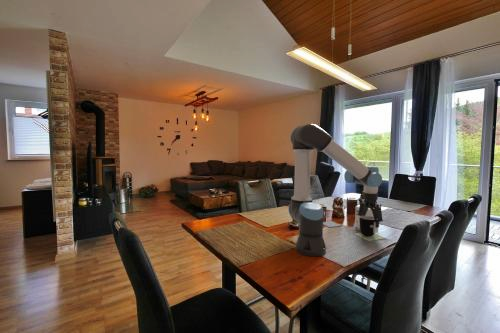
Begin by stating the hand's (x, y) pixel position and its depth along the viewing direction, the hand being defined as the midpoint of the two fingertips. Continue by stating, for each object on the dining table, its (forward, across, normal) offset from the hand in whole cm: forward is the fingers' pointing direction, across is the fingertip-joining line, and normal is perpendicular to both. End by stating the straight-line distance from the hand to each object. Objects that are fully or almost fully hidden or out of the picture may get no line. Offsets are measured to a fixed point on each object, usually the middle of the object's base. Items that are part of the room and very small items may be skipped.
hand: (369, 229), depth 140 cm
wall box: (+4, +13, -9) cm, 16 cm away
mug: (+3, 0, 0) cm, 3 cm away
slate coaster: (+4, +26, +8) cm, 27 cm away
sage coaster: (+4, 0, 0) cm, 4 cm away
